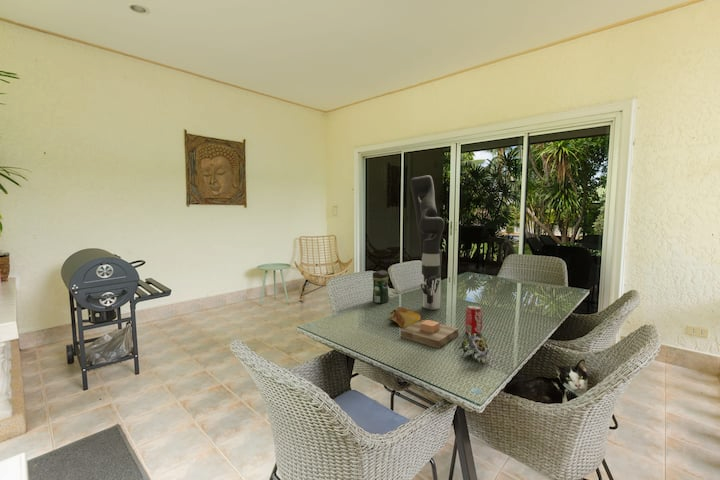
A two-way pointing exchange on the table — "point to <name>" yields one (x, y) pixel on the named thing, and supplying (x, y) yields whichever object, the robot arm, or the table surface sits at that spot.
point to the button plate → (430, 335)
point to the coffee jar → (380, 286)
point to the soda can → (473, 319)
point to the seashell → (404, 317)
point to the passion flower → (476, 347)
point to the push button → (429, 326)
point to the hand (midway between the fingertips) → (429, 303)
